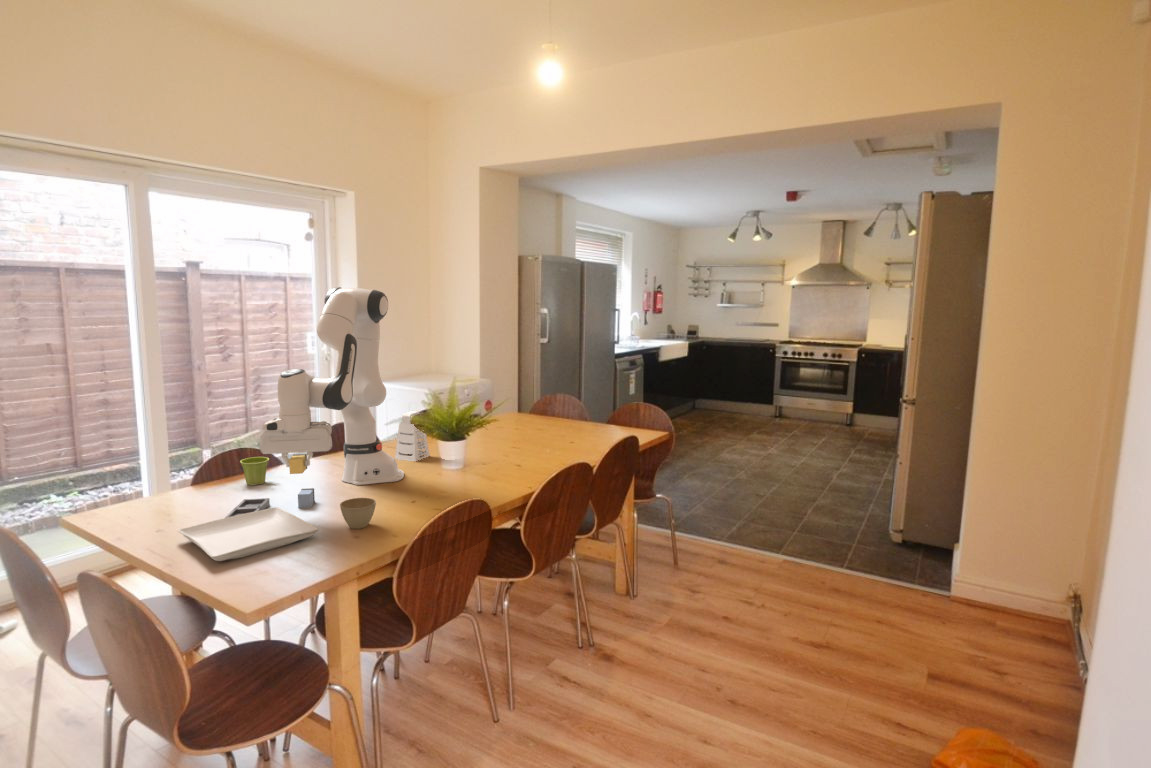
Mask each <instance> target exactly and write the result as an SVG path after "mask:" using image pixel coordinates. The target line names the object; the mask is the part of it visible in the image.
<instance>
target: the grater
mask: <svg viewBox="0 0 1151 768" xmlns="http://www.w3.org/2000/svg"><path fill="white" fill-rule="evenodd" d="M412 414H413V415H417V414H420V415H421V413H420V411H415V410H414V411H413V410H411V411H408V412H404V413H403V415H402V422H399V423H398V430H397V431H398V432H397V439H396V440H397V441H396V447H395V455H394V459H398V461H403V460H407V461H406V462H411V461H415V462H414V463H416V461H417V462H419V461H421V459H422V460H424V459H423V458H425V459H427V458H429V457H428V456H430V457H431V455H430V449H429V442H428V436H427V433H426V434H425V433H423V432H422V431H420V430H419V429H417V428H416V427H415V426H414V424H411V422H410V420H411V415H412ZM413 415H412V416H413ZM407 454H409V455H407ZM423 455H425V456H423ZM426 457H427V458H426ZM418 460H419V461H418Z"/></svg>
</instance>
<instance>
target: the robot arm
mask: <svg viewBox="0 0 1151 768" xmlns="http://www.w3.org/2000/svg"><path fill="white" fill-rule="evenodd" d="M388 310H389V300H388V297H387V296H386V294H385V293H384V292H382V291H380V290H377V289H367V288H361V287H339V286H338V287H332V288H330V289H329V290H328V291H327V293H326V294H325V296H324V306H323V309H322V311H321V313H320V316H319V319H318V320H317V324H316V334H317V336H318V338H319V340H320V341H321V342H322V343H323V344H324V345H326V346H327V347H329V348H331V349H333V350H335V351H337V352H338V353H337V354H338V358H337V363H336V364H337V365H336V370H335V374H334V375H333V376H332V377H331V378H330V377H317V376H316V377H315V376H312V375H309V373H307V371H306V370H305V369H302V368H293V369H287V370H285V371H282V372H280V373H279V376H278V380H277V401H278V404H279V411H278V417H277V418H274V419H270V420H268V421H266V422H265V423H264V424H262V430H263V431H262V433H261V436H260V439H259V440H260V444H259V445H260V446H259V447H260V448H259V449H260V452H261V453H262V454H263V455H271V454H281V458H282V459H283V461H284V462H285V467H286V468H289V459H290V458H289V457H288V455H289V454H292V453H295V454H296V453H306V454H307V459H305V460H304V466H307V467H310V465H311V459H312V457H313V455H314V452H315V453H317V452H329V451H330V450H331V449H332V448H333V441H332V440H333V439H332V436H331V435H332V433H333V430H332V429H333V427H332V425H331V424H330V422H327V421H324V420H323V421H312V417H311V416H312V415H311V412H312V411H311V408H315V409H316V408H318V409H327V410H333V411H334V410H335V411H341V416H342V418H343V425H344V427H343V428H344V443H343V456H344V467H343V473H342V477H341V481H342V482H344V483H349V484H353V485H356V486H362V485H371V484H372V485H373V484H381V483H392V482H394V483H395V482H399V481H401V480H402V479H403V478H404V477H405V472H404V471H403V469H399V467H398V463H397V460H395V457H393V456H392V455H390V454H388V453H386V451H384V450H383V444H382V441H379V440H377V432H376V431H377V429H376V422H377V421H376V419H375V418H374V416H373V414H372V413H371V410H370V408H374V407H379V406H380V405H381V404H383V402H384V401H385V400H386V397H387V388H386V385H385V384H384V383H383V381H382V378H381V375H380V369H379V368H380V367H379V348H380V338H381V336H380V335H381V328H380V327H381V325H380V321H381V320H383V319H384V318H385V317H386V315H387V314H388Z"/></svg>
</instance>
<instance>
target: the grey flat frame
mask: <svg viewBox="0 0 1151 768" xmlns="http://www.w3.org/2000/svg"><path fill="white" fill-rule="evenodd" d="M269 506H270V498H269V497H268V498H267V497H265V498H246V499H243V500H241V501H240V502H239V504H237V505H236V506H235V507H234V508H233V509H232V510H231V511H230V512H229V513H227V515H226V516H225V517H224V518H227V517H232V516H236V515H241V514H245V513H250V512H255V511H260V510H265V509H268V508H269Z"/></svg>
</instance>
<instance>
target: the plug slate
mask: <svg viewBox="0 0 1151 768" xmlns="http://www.w3.org/2000/svg"><path fill="white" fill-rule="evenodd" d="M315 497H316V496H315V488H313V487H311V488H301V489H300V491H299V492H298V494H297V504H298V505H297V507H298V509H305V508H307V509H309V508H311V507H312V506H313V504H314V503H315V501H316V500H315Z"/></svg>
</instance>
